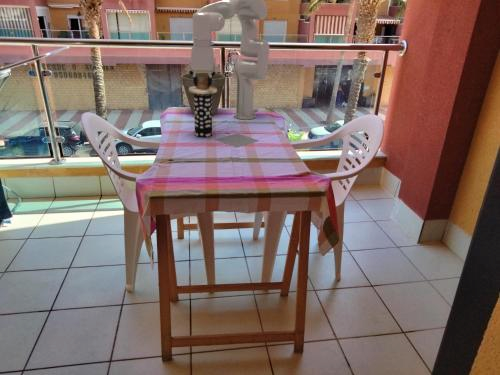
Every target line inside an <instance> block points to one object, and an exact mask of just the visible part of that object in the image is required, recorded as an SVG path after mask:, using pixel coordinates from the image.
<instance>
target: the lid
mask: <svg viewBox="0 0 500 375" xmlns="http://www.w3.org/2000/svg"><path fill="white" fill-rule="evenodd" d="M208 78H209V77H204V76H202V77H197V86H193V87H189V92H190V93H195V94H212V93H216V92H217V88H215V87H211V86H210V87H208Z"/></svg>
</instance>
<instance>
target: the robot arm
mask: <svg viewBox="0 0 500 375" xmlns="http://www.w3.org/2000/svg"><path fill="white" fill-rule="evenodd" d="M192 14H193V15H192V39H193V40H192V41H193V43H192V45H193V46H192V47H191V50H190V51H191V52H190V62H189V64H188V65H187V66H186V67H185V70H186V72H188V74H189V73H190V74H191V75H192V76H193V80H194V84H195V86H197V76H196V74H197V73H198V72H207V73H208V74H209V78H208V87H210V86H211V85H212V77H213V76H214V75H215V74H216V73H218V72H219V71H220V68H219V67H218V66H217V64H216V63H215V59H214V57H215V56H214V55H215V54H214V50H213V49H214V48H213V47H212V46H214V44H215V41H213V40H212V39H211V32H219V31H221V30H223V28H224V27H225V22H226V21H225V20H229V19H232V18H233V17H235V15H236V16H237V18H238V20H239V23H240V25H241V26H240V27H241V37H240V45H239V47H240V48H239V51H240V52H239V53H240V55H242V56H243V57H248V58H255V60H254V59H246V58H245V59H240V60H239V59H238V61H237V62H236V63H235V69H234V70H235V75H236V108H235V109H236V111H235V113H234V114H233V118H235V119H238V120H253V119H255V118H256V114H255V113H257V112H259V108H254V96H255V95H254V94H255V86H254V83H253V80H252V79H254V80H264V79H265V78H266V76H267V73H268V66H269V58H270V44H269V42H268V41H267V40H266V39H263V38H258V34H259V32H258V25H257V23H256V21H263V20H264V19H265V18H266V17H267V16H268V5H267V4H266V2H265V0H219V1H216V2H214V3H210V4H207V5H205V6H203V7H201V8H199V9H198V10H197V11H196V12H194V13H192ZM256 59H257V60H256ZM212 71H213V72H212Z"/></svg>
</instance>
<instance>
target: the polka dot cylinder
mask: <svg viewBox="0 0 500 375" xmlns="http://www.w3.org/2000/svg"><path fill="white" fill-rule="evenodd" d="M193 115H194V136H195V137H196V138H201V139H202V138H210V137H212V136H213V115H212V94H194V114H193Z"/></svg>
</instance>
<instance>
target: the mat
mask: <svg viewBox="0 0 500 375" xmlns="http://www.w3.org/2000/svg"><path fill="white" fill-rule="evenodd" d="M214 140H215V141H218V142H220V143H223V144H226V145H227V146H228V145H229V146H231V147H233V148H239V147H244V146H247V145H250V144H253V143H256V142H260V140H258V139H256V138H253V137H250V136H248V135H244V134H242V133H238V132H237V133H234V134H230V135H227V136H222V137H217V138H214Z"/></svg>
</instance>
